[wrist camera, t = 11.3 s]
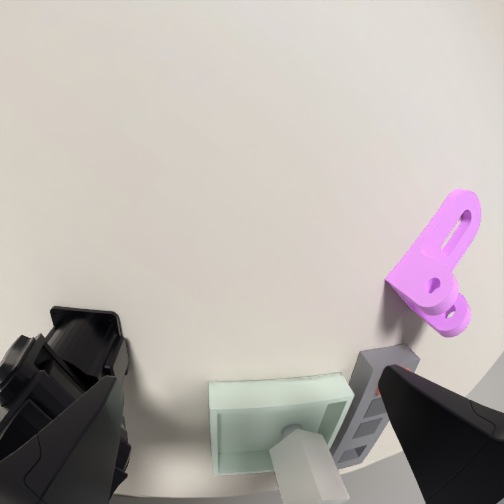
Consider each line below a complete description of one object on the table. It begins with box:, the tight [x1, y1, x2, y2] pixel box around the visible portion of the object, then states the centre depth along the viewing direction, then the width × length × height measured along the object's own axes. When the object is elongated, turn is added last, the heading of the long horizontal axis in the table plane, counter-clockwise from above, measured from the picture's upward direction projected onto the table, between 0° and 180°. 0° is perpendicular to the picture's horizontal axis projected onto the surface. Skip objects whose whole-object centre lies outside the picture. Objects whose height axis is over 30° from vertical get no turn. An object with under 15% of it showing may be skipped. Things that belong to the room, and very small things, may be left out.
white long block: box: [269, 424, 350, 504], centre depth 22 cm, size 4×4×11 cm
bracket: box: [385, 189, 481, 337], centre depth 20 cm, size 13×6×7 cm, turn 139°
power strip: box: [329, 344, 420, 469], centre depth 27 cm, size 20×6×4 cm, turn 176°
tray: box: [208, 372, 354, 475], centre depth 25 cm, size 13×13×4 cm
